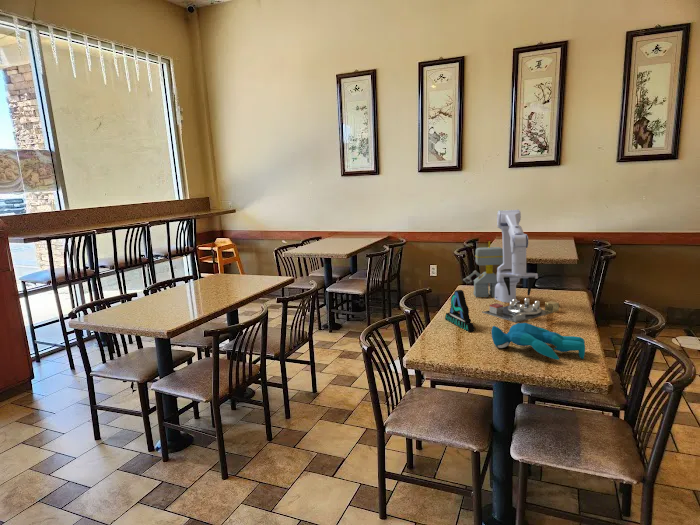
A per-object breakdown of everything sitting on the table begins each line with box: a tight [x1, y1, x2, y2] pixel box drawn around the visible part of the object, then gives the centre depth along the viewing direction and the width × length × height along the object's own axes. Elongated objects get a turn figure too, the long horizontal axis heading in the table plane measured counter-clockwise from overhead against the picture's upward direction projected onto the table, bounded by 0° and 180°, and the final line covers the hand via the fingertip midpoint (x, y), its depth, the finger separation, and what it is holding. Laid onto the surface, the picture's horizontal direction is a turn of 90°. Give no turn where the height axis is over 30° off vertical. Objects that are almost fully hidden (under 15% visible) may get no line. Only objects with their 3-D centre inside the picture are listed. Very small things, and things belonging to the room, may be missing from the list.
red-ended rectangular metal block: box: [489, 303, 504, 316], centre depth 199 cm, size 4×4×4 cm
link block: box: [544, 300, 560, 314], centre depth 202 cm, size 4×4×4 cm
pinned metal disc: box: [508, 297, 543, 316], centre depth 201 cm, size 14×14×4 cm
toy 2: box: [491, 322, 586, 361], centre depth 157 cm, size 19×10×30 cm
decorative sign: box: [444, 289, 475, 333], centre depth 188 cm, size 19×2×15 cm, turn 18°
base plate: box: [481, 305, 554, 324], centre depth 200 cm, size 19×23×3 cm
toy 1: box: [462, 237, 503, 299], centre depth 230 cm, size 26×9×30 cm, turn 84°
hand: (518, 295), depth 194 cm, fingers open, 7 cm apart
